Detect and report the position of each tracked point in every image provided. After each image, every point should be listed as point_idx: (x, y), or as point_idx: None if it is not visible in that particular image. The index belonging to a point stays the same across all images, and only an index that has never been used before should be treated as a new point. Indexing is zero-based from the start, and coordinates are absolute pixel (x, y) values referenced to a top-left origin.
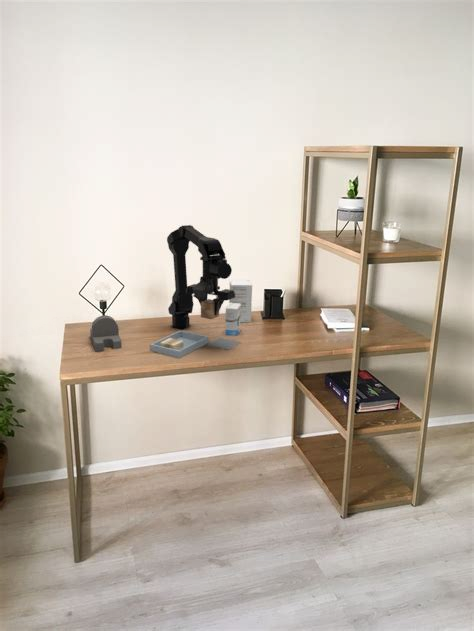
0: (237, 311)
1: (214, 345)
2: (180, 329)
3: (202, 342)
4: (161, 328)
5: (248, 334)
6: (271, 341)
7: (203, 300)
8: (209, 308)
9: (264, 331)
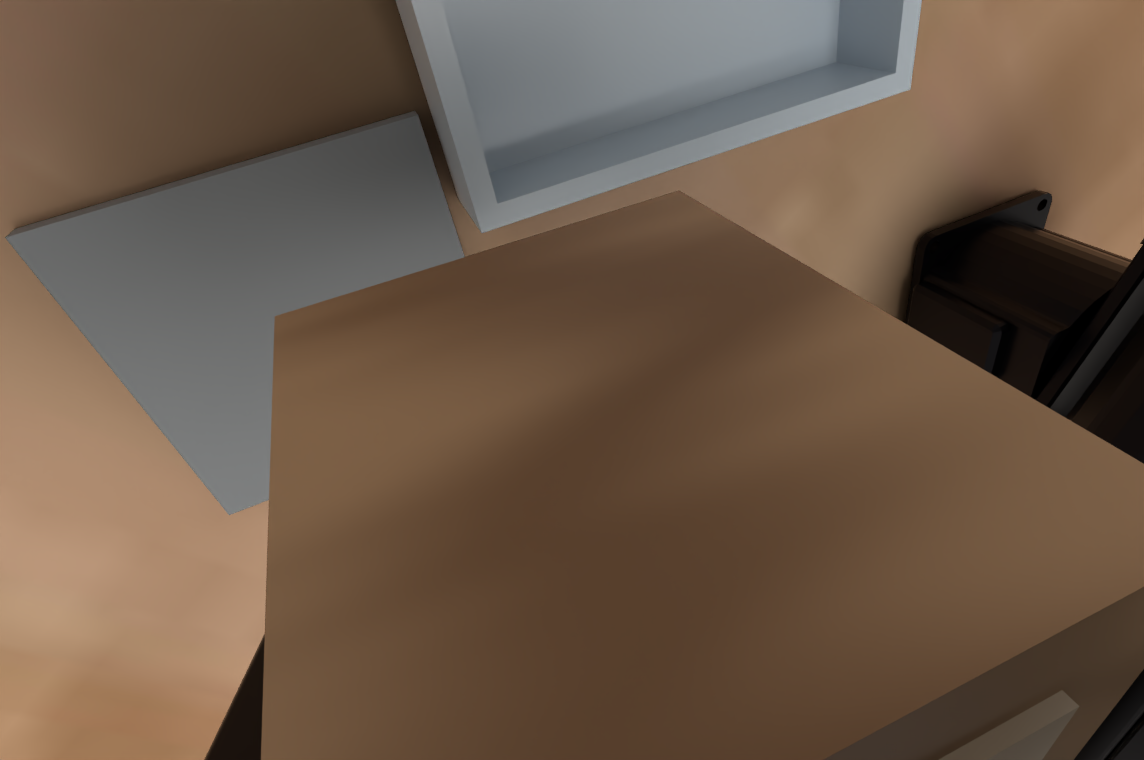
0: None
1: (303, 187)
2: (942, 230)
3: (417, 45)
4: (1104, 118)
5: None
6: (117, 730)
7: (1126, 702)
8: (438, 551)
9: None
